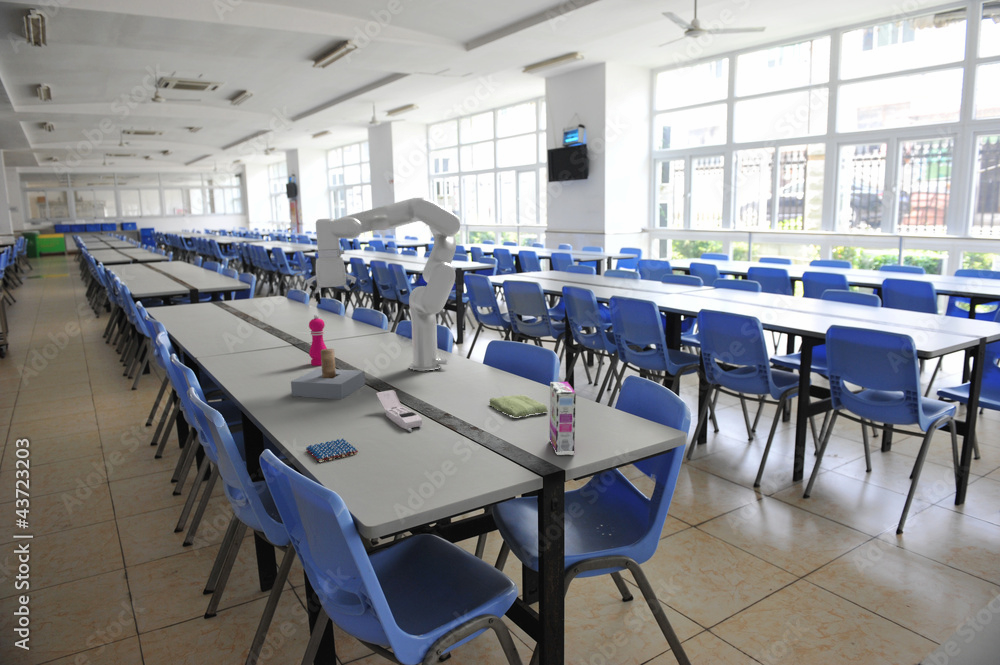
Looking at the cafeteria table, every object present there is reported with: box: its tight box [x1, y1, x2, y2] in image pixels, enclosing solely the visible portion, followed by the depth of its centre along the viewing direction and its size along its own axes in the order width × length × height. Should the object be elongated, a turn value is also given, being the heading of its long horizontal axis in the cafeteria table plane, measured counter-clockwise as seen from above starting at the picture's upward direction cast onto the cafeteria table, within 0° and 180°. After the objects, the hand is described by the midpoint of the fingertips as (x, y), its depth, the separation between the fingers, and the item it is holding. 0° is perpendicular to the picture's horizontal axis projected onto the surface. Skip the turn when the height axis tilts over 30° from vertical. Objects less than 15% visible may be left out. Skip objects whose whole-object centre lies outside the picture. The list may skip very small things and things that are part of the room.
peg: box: [321, 348, 336, 379], centre depth 223 cm, size 4×4×14 cm
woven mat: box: [305, 438, 359, 462], centre depth 168 cm, size 10×11×2 cm
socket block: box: [290, 368, 366, 400], centre depth 224 cm, size 18×18×5 cm
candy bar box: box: [549, 381, 577, 452], centre depth 168 cm, size 11×5×16 cm, turn 5°
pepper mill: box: [308, 314, 328, 367], centre depth 260 cm, size 7×7×20 cm
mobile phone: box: [376, 389, 423, 433], centre depth 193 cm, size 6×6×25 cm
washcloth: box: [489, 394, 548, 417], centre depth 202 cm, size 13×18×3 cm
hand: (333, 302), depth 233 cm, fingers open, 9 cm apart
